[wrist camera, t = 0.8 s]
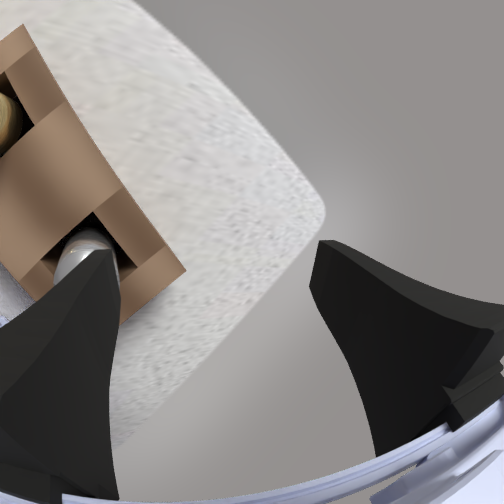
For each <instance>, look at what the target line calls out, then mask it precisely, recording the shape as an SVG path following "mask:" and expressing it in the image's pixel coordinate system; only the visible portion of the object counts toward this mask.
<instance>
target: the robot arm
mask: <svg viewBox="0 0 504 504" xmlns="http://www.w3.org/2000/svg"><path fill="white" fill-rule="evenodd" d="M309 287H310V290H311V293H312V296H313V299H314V301H315V303H316V306H317V308H318V310H319V312H320V314H321V316H322V317H323V319H324V321H325V323H326V324H327V326H328V328H329V330H330V331H331V333H332V335H333V337H334V338H335V340H336V342H337V344H338V345H339V347H340V349H341V351H342V353H343V354H344V356H345V358H346V360H347V362H348V364H349V367H350V370H351V372H352V374H353V377H354V379H355V382H356V385H357V388H358V391H359V393H360V396H361V399H362V402H363V405H364V409H365V411H366V415H367V419H368V422H369V426H370V430H371V435H372V439H373V444H374V448H375V454H376V458H374V459H372V460H369V461H367V462H364V463H362V464H359V465H357V466H354V467H351V468H348V469H346V470H343V471H340V472H337V473H335V474H331V475H328V476H325V477H321V478H318V479H315V480H311V481H308V482H304V483H301V484H297V485H293V486H289V487H285V488H280V489H276V490H271V491H266V492H262V493H256V494H250V495H244V496H237V497H231V498H222V499H213V500H203V501H189V502H127V501H126V502H125V501H118V500H119V494H118V490H117V484H116V479H115V473H114V466H113V458H112V449H111V439H110V421H109V386H110V376H111V369H112V363H113V357H114V351H115V345H116V339H117V334H118V328H119V322H120V309H121V295H120V290H119V285H118V280H117V275H116V270H115V264H114V259H113V253H112V249H99V250H94V251H93V252H91V253H90V254H89V255H88V256H87V257H85V258H84V259H83V260H82V261H81V262H80V263H79V264H78V265H77V266H76V267H75V268H74V269H72V270H71V271H70V272H69V273H68V274H67V275H66V276H65V277H64V278H63V279H62V280H61V281H60V282H58V283H57V284H56V285H55V286H54V287H53V288H52V289H50V290H49V291H48V292H47V293H46V294H45V295H44V296H43V297H41V298H40V299H39V300H38V301H37V302H35V303H34V304H33V305H32V306H30V307H29V308H28V309H26V310H25V311H24V312H22V313H21V314H20V315H19V316H17V317H16V318H14V319H13V320H11V321H10V322H9V321H8V320H7V319H6V318H5V317H4V316H0V323H1V325H0V504H326V503H329V502H332V501H335V500H337V499H340V498H343V497H346V496H348V495H351V494H353V493H356V492H359V491H361V490H364V489H366V488H368V487H371V486H373V485H375V484H377V483H379V482H382V481H384V480H386V479H388V478H390V477H392V476H394V475H396V474H398V473H400V472H402V471H404V470H406V469H408V468H410V467H412V466H414V465H415V464H417V463H418V464H417V465H416V468H415V469H414V470H411V471H410V472H408V473H406V474H405V475H403V476H401V477H400V478H399V479H398V480H397V481H395V482H394V483H392V484H391V485H389V486H388V487H386V488H385V489H383V490H381V491H379V492H377V493H376V494H374V495H373V496H371V497H370V501H371V503H372V504H504V377H503V376H502V375H501V373H500V372H501V371H502V370H503V365H502V364H501V363H500V360H501V358H502V357H503V355H504V305H500V304H495V303H488V302H483V301H478V300H474V299H470V298H465V297H462V296H458V295H455V294H452V293H449V292H446V291H442V290H439V289H437V288H434V287H431V286H429V285H426V284H424V283H422V282H419V281H417V280H414V279H412V278H410V277H408V276H405V275H403V274H401V273H399V272H397V271H395V270H393V269H391V268H389V267H387V266H385V265H383V264H382V263H380V262H378V261H376V260H374V259H372V258H370V257H368V256H366V255H365V254H363V253H361V252H359V251H357V250H355V249H353V248H351V247H349V246H347V245H345V244H343V243H340V242H337V241H335V240H320V241H319V243H318V248H317V253H316V258H315V262H314V267H313V271H312V276H311V280H310V284H309Z"/></svg>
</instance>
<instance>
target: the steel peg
mask: <svg viewBox="0 0 504 504" xmlns="http://www.w3.org/2000/svg"><path fill="white" fill-rule="evenodd" d="M99 249H112V253H113V259H114V264H115V270H116V275H117V280H118V285H119V290H120V280H119V274H118V267H117V260H116V253H115V247H114V244H113V242H112V240H111V239H110V237H109V236H108V235H107V234H106V233H105V232H103V231H102V230H99V229H97V228H92V227H87V228H82V229H79V230H77V231H75V232H74V233H73V234H72V235H71V236H70V237H69V238H68V240H67V242H66V244H65V247H64V249H63V252H62V255H61V257H60V260H59V263H58V265H57V268H56V271H55V274H54V282H53V284H54V286H55V285H56V284H57V283H58V282H60V281H61V280H62V279H63V278H64V277H65V276H66V275H67V274H68V273H69V272H70V271H71V270H72V269H74V268H75V267H76V266H77V265H78V264H79V263H80V262H81V261H82V260H83V259H84V258H85V257H87V256H88V255H89V254H90V253H91V252H93V251H94V250H99Z"/></svg>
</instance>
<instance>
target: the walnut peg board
mask: <svg viewBox="0 0 504 504" xmlns="http://www.w3.org/2000/svg"><path fill="white" fill-rule="evenodd" d="M0 93H2V94H4V95H6V96H7V97H9V98H11V99H13V98H14V97H16V96H18V98H19V99H20V101H21V103H22V105H23V107H24V108H25V110H26V112H27V113H28V115H29V117H30V119H31V120H32V122H33V124H34V125H35V126H34V127H33V128H32V129H31V130H30V131H28V132H27V133H26V134H25V135H24V136H23V137H22V138H21V139H20V140H19V141H18V142H17V143H15V144H14V145H13V146H12V147H11V148H10V149H9V150H8V151H7V152H6V153H5V154H4V155H3V156H2V157H1V158H0V261H1V263H2V264H3V265H4V266H5V268H6V269H7V270H8V271H9V272H10V274H11V275H12V276H13V277H14V278H15V279H16V281H17V282H18V283H19V284H20V285H21V286H22V287H23V288H24V290H25V291H26V292H27V293H28V294H29V295H30V296H31V297H32V298H33V299H34V300H35V301H36V302H37V301H38V300H39V299H40V298H41V297H43V296H44V295H45V294H46V293H47V292H48V291H49V290H50V289H52V288H53V287H54V284H53V282H54V274H55V271H56V268H57V265H58V263H59V260H60V257H61V255H62V252H63V248H62V246H61V245H60V244H59V243H58V242H59V241H60V240H61V239H62V238H63V237H64V236H65V235H66V234H67V233H68V232H70V231H71V230H72V229H73V228H74V227H75V226H76V225H77V224H79V223H80V222H81V221H82V220H83V219H84V218H85V217H87V216H88V215H89V214H90V213H91V212H92V211H93V212H94V213H95V215H96V216H97V217H98V218H99V220H100V221H101V222H102V224H103V225H104V226H105V228H106V229H107V230H108V231H109V233H110V234H111V235H112V236H113V238H114V239H115V240H116V241H117V243H118V244H119V245H120V246H121V248H122V249H123V250H121V251H120V252H119V253H118V254H117V255H116V260H117V267H118V274H119V280H120V295H121V309H120V322H119V326H120V325H121V324H122V323H123V322H124V321H126V320H127V319H128V318H129V317H130V316H132V315H133V314H134V313H135V312H136V311H138V310H139V309H140V308H141V307H142V306H144V305H145V304H146V303H147V302H149V301H150V300H151V299H152V298H153V297H155V296H156V295H157V294H158V293H160V292H161V291H162V290H163V289H165V288H166V287H167V286H168V285H169V284H171V283H172V282H173V281H174V280H176V279H177V278H178V277H179V276H181V275H182V274H183V273H184V272H186V269H185V268H184V267H183V265H182V264H181V263H180V261H179V260H178V258H177V257H176V256H175V254H174V253H173V252H172V250H171V249H170V247H169V246H168V245H167V243H166V242H165V241H164V240H163V238H162V237H161V236H160V234H159V233H158V232H157V230H156V229H155V228H154V226H153V225H152V224H151V222H150V221H149V220H148V218H147V217H146V216H145V214H144V213H143V211H142V210H141V209H140V207H139V206H138V205H137V203H136V202H135V200H134V199H133V198H132V196H131V195H130V194H129V192H128V191H127V189H126V188H125V186H124V185H123V184H122V182H121V181H120V179H119V178H118V177H117V175H116V174H115V172H114V171H113V169H112V168H111V166H110V165H109V163H108V162H107V161H106V159H105V158H104V156H103V155H102V153H101V152H100V150H99V149H98V147H97V146H96V144H95V143H94V141H93V140H92V138H91V137H90V135H89V134H88V132H87V130H86V129H85V127H84V126H83V124H82V123H81V121H80V120H79V118H78V116H77V115H76V113H75V112H74V110H73V108H72V107H71V105H70V104H69V102H68V100H67V99H66V97H65V95H64V94H63V92H62V90H61V89H60V87H59V85H58V84H57V82H56V80H55V79H54V77H53V75H52V73H51V72H50V70H49V68H48V66H47V65H46V63H45V61H44V59H43V58H42V56H41V54H40V52H39V50H38V49H37V47H36V45H35V44H34V42H33V40H32V38H31V37H30V35H29V33H28V31H27V30H26V28H25V26H24V24H22V25H21V26H19V27H18V28H17V29H15V30H14V31H13V32H11V33H10V34H9V35H8V36H6V37H5V38H4V39H3V40H1V41H0Z"/></svg>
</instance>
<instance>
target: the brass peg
mask: <svg viewBox="0 0 504 504" xmlns="http://www.w3.org/2000/svg"><path fill="white" fill-rule="evenodd" d="M22 127H23V113H22V110H21V107H20V106H19V104H18V103H17V102H15V101H14V100H12V99H11V98H9V97H7V96H6V95H4V94H2V93H0V154H1V153H4V152H6V151H7V150H9V149H10V148H11V147H12V146H13V145H14V144H15V143H16V141H17V140H18V138H19V136H20V134H21V131H22Z"/></svg>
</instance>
